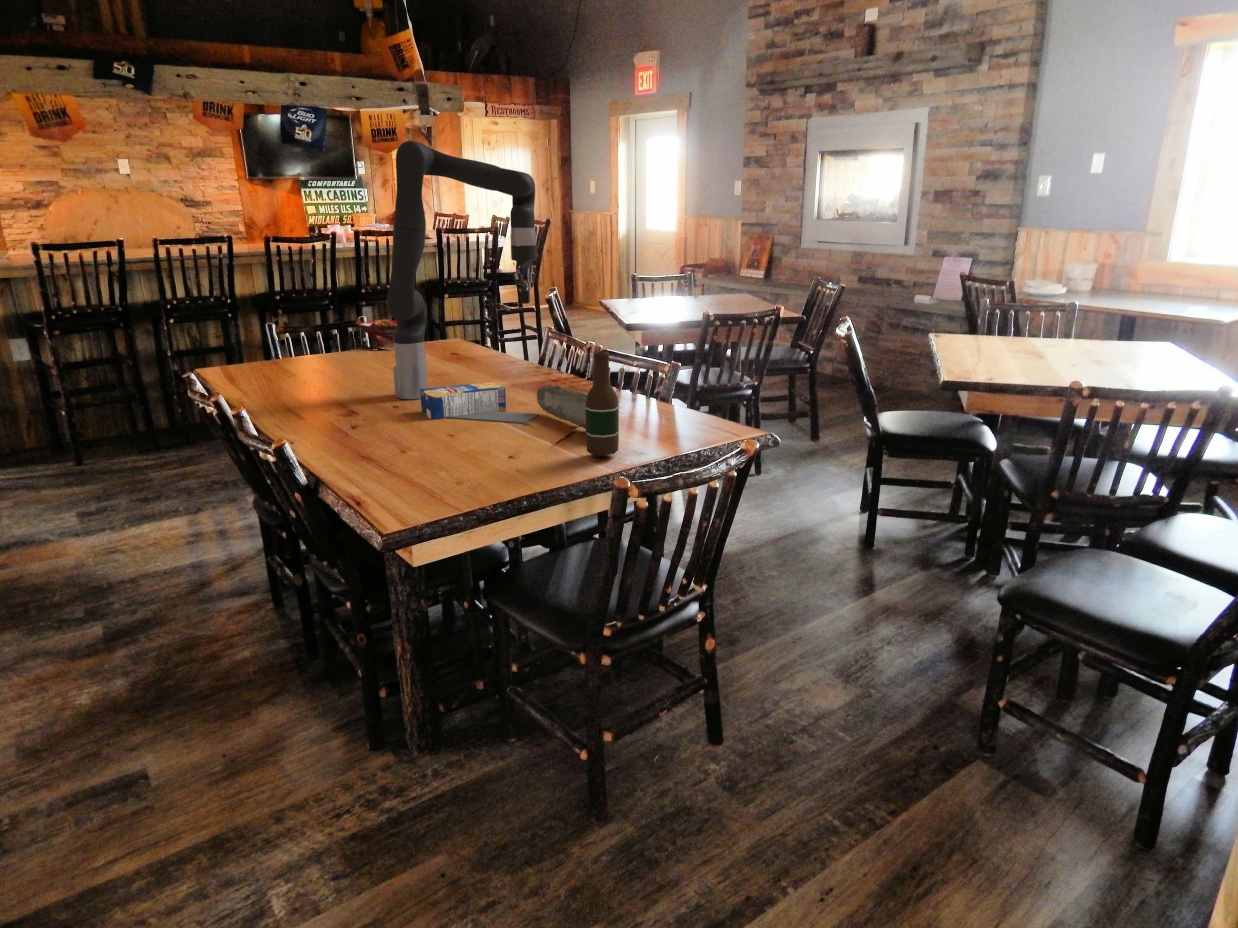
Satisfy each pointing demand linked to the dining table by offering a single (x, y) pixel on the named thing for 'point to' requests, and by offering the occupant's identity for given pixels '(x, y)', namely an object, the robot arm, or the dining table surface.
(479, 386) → the beverage box
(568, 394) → the elongated rock
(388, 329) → the stew
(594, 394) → the beer bottle
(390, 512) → the dining table surface
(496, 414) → the mat
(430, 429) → the dining table surface
